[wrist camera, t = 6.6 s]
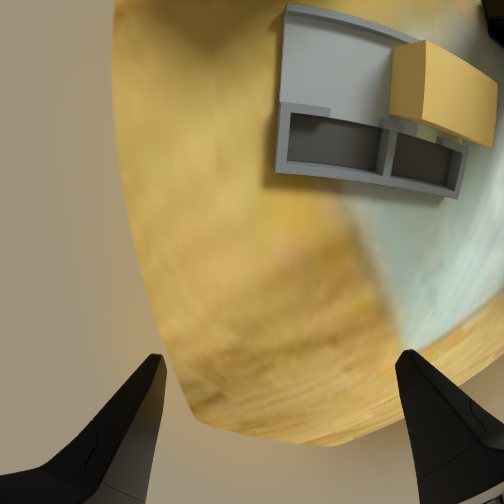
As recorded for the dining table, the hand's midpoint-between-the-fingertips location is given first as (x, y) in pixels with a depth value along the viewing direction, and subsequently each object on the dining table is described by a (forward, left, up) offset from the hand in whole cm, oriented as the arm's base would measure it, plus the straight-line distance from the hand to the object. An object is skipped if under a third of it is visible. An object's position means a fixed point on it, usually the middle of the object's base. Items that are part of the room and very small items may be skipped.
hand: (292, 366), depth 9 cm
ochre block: (-11, -11, -11) cm, 19 cm away
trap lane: (-8, -10, -12) cm, 17 cm away
